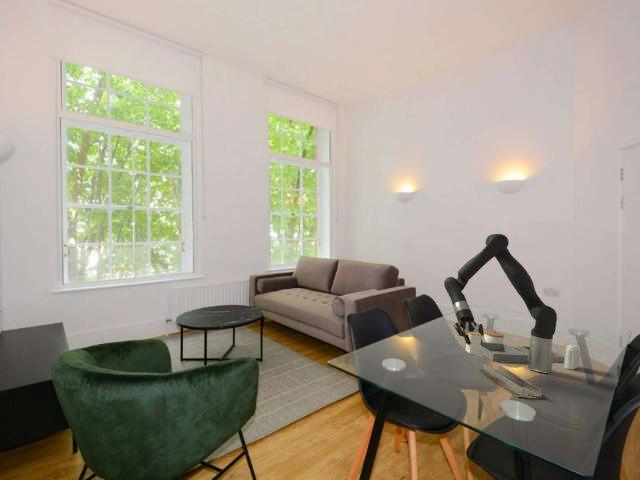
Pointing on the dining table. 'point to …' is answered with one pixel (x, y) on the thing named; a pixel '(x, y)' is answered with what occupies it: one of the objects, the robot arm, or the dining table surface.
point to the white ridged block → (572, 357)
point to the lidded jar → (493, 337)
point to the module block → (474, 343)
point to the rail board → (511, 381)
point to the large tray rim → (510, 357)
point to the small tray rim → (556, 356)
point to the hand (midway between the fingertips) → (475, 344)
